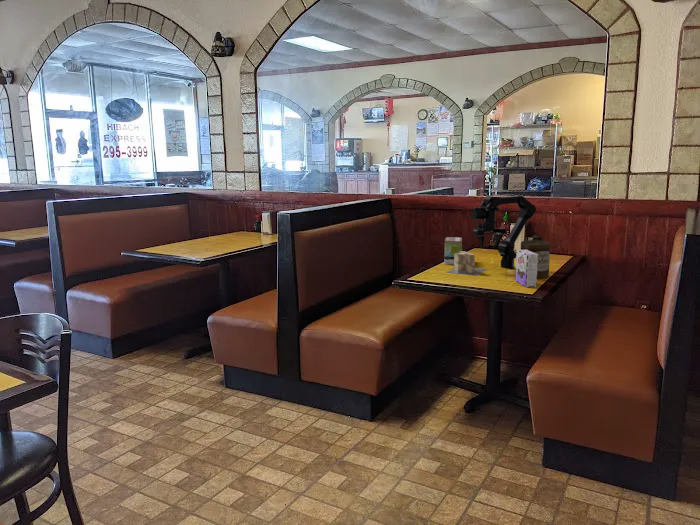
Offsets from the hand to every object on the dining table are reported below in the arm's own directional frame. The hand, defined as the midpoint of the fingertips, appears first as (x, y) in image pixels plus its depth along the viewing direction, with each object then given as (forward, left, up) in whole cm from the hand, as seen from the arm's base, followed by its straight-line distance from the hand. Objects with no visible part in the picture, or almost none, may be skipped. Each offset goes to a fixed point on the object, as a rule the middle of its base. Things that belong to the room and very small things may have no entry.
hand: (489, 247), depth 309 cm
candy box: (-27, +24, -13) cm, 39 cm away
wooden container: (-26, +4, -13) cm, 30 cm away
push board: (+8, +11, -13) cm, 19 cm away
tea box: (+25, -10, -13) cm, 30 cm away
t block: (+10, +12, -12) cm, 20 cm away
